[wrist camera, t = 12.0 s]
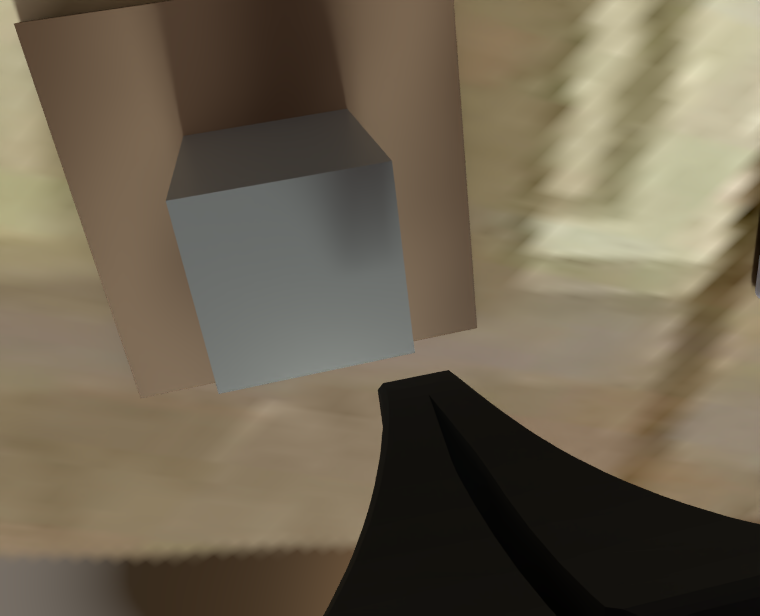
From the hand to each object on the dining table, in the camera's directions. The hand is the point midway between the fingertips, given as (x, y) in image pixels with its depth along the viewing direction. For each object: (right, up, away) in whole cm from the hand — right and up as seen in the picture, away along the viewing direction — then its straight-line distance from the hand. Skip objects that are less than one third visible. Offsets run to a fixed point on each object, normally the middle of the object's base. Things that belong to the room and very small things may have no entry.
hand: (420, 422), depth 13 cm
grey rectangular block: (-4, +5, +7) cm, 10 cm away
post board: (-4, +5, +8) cm, 10 cm away
